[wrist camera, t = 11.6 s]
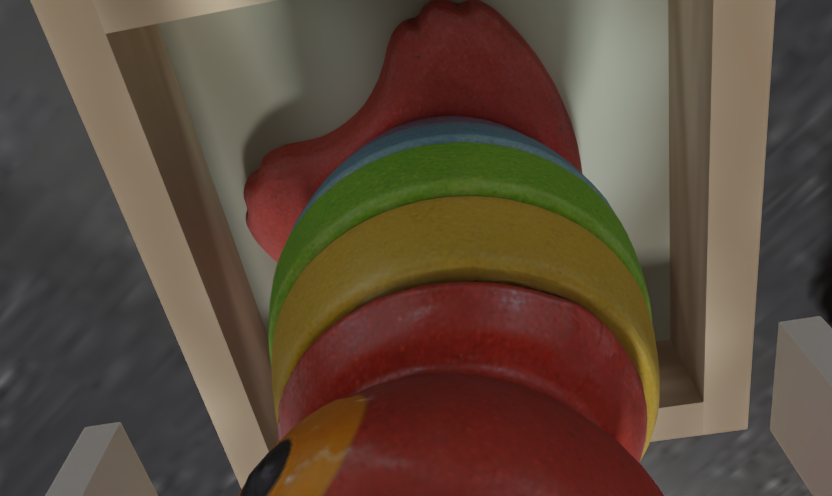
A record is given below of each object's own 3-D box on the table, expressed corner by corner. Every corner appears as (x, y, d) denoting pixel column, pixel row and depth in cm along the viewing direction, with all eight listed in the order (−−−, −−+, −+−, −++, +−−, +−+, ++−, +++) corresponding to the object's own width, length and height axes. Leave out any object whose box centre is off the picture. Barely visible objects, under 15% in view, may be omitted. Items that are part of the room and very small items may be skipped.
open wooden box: (267, 409, 29) (244, 494, 25) (97, -40, 21) (22, -18, 17) (700, 349, 28) (747, 429, 24) (710, -166, 19) (786, -174, 15)
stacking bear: (460, -38, 20) (618, 321, 4) (658, 197, 23) (1137, 858, 8) (220, 197, 23) (-170, 856, 8) (423, 369, 27) (433, 1057, 11)
